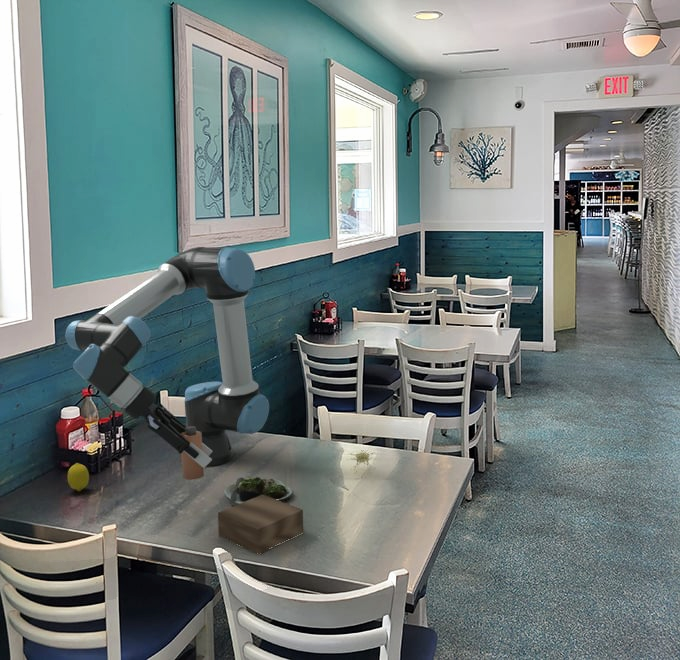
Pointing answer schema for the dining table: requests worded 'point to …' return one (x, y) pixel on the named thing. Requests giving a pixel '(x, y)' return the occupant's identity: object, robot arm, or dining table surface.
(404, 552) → the dining table surface
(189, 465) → the sauce bottle
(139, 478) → the dining table surface
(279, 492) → the salad plate
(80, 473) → the lemon
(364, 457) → the beige splat shape
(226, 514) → the walnut block
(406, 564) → the dining table surface
